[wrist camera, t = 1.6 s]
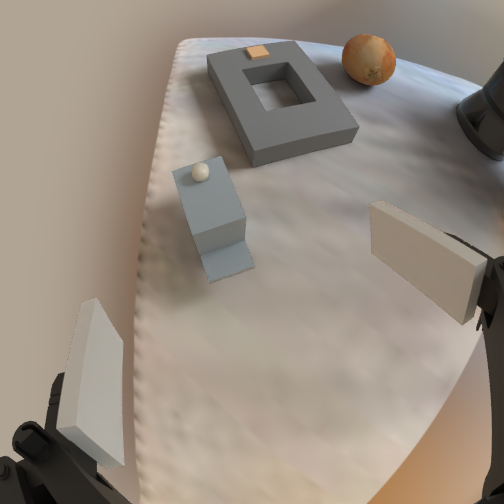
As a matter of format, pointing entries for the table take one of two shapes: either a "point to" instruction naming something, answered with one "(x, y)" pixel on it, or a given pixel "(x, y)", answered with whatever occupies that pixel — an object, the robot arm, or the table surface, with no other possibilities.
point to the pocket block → (283, 119)
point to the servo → (214, 218)
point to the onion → (368, 59)
